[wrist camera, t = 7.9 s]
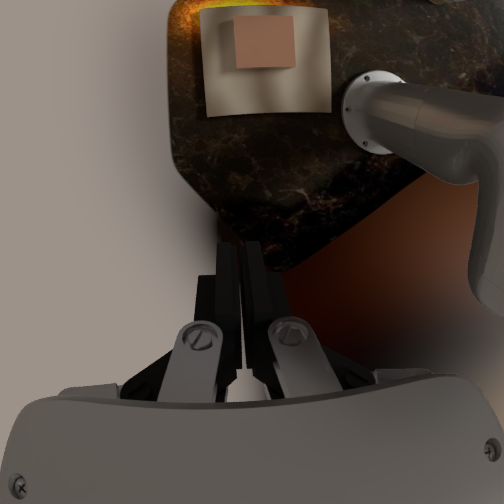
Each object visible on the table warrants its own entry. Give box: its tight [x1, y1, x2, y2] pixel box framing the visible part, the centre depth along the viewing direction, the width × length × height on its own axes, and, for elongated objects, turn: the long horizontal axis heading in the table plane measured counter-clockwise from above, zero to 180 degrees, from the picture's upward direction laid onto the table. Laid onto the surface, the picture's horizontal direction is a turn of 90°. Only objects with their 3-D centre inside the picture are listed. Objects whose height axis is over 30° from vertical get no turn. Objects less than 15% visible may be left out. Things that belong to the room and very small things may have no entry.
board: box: [199, 5, 331, 117], centre depth 30 cm, size 16×15×1 cm
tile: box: [233, 15, 296, 69], centre depth 28 cm, size 2×7×7 cm
